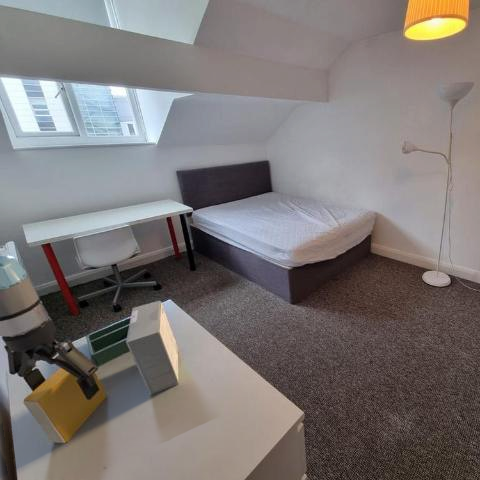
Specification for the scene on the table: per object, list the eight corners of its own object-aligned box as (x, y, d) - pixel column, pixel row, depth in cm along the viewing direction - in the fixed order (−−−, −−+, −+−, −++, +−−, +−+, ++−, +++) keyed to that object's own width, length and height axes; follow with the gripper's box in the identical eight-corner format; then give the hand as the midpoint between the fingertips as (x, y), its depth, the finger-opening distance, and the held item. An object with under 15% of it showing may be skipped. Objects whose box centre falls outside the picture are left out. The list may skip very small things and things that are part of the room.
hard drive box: (152, 357, 87) (132, 307, 78) (178, 348, 90) (161, 299, 82) (149, 396, 74) (125, 342, 66) (179, 384, 77) (160, 331, 69)
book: (52, 443, 64) (21, 401, 58) (96, 394, 75) (74, 355, 69) (65, 444, 63) (35, 402, 57) (107, 395, 75) (86, 356, 69)
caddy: (91, 346, 92) (85, 335, 90) (144, 322, 102) (140, 312, 100) (96, 367, 84) (91, 356, 82) (154, 338, 94) (150, 328, 92)
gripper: (94, 315, 59) (126, 381, 68) (-5, 312, 62) (38, 377, 70) (62, 340, 52) (102, 411, 61) (-48, 336, 55) (5, 405, 63)
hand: (68, 393), depth 66 cm, fingers open, 13 cm apart
